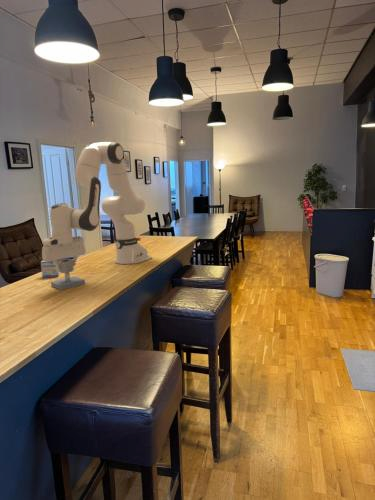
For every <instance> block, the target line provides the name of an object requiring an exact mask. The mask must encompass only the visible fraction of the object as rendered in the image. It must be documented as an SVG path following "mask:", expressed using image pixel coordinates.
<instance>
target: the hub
mask: <svg viewBox="0 0 375 500" xmlns="http://www.w3.org/2000/svg"><path fill="white" fill-rule="evenodd" d="M58 265H60V266H61V267H60V268H61V269H58V270H59V274H60V273H61V274H65V273H68V272H69V273H72V272H74V271H75V267H74V264H73V258H72V259H71V258H65V259H60V260H58Z"/></svg>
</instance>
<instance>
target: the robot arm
mask: <svg viewBox="0 0 375 500" xmlns="http://www.w3.org/2000/svg"><path fill="white" fill-rule="evenodd" d="M124 155H125V151H124V147H122V145H121V144H120V143H119V142H115V141H101V142H90V143H87V144H86V145H85V146H84V148H83V149H82V150H81V153H80V155H79V157H78V161H77V162H76V163H77V164H76V168H75V171H74V172H75V173H74V175H75V179H76V181H77V182H78V184H79V185H80V186H83V187H85V188H86V190H87V198H86V205H85V208H83V209H79V208H74V207H71V205H68V203H66V202H62V203H56V204H54V205H52V206H51V207H50V211H49V214H50V215H49V219H50V226H51V228H52V231H51V234H52V235H50V236H49V237H47V238H44V239H43V240H42V241H41V243H42V245H43V246H42V247H41V248H42V249H41V259H42V261H45V262H51V261H53V263H54V264H55V266H56V269H57V270H59V269H61V268H60V267H61V266H60V265H58V264H57V262H58V261H59V260H64V259H71V258H72V260H73V264H74V266H77V263H76V262H77V261H78V257H79V256H83V255H85V253H86V248H85V244H84V243H85V241H84V237H83V236H80V235H78V236H73V230H83V231H88V232H93V231H94V230H96V229H97V227H98V226H99V225H100V205H101V209H102V212H103V213H104V214H105V215H107V216H108V217H109V218H110V220H111V222H112V223H113V226H114V230H115V231H114V232H115V247H116V253H115V254H116V255H115V261H114V262H115V263H116V264H121V265H122V264H123V265H128V264H139V263H142V262H145V261H147V260H150V259H153V257H152V256H151V255H149V254H148V250H147V248H146V247H144V246H143V245H142V244H140V243H139V242H140V241H141V240H142V238H141V237H136V234H135V225H134V223H133V222H132V221H130V220H128V219H127V218H126V216H127V215H128V216H129V215H138V214H141V213H143V211H144V210H145V207H146V206H145V205H146V203H145V200H144V198H143V197H142V196H140V195H139V194H137V193H136V192H135V191H134V189H133V187H132V186H131V184H130V181H129V176H128V175H129V174H128V170H127V165H126V162H125V159H124ZM102 165H105V170H106V176H107V181H108V185H109V187H110V189H111V190H113V192H116V193H117V194H118V195H111V196H107V197H104V198H103V199H102V201H101V194H102V193H101V191H102V184H101V180H100V179H99V178H100V177H99V176H100V175H99V174H100V170H101V166H102ZM125 215H126V216H125Z"/></svg>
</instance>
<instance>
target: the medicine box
mask: <svg viewBox="0 0 375 500" xmlns="http://www.w3.org/2000/svg"><path fill="white" fill-rule="evenodd" d="M57 264H58V262H57ZM40 268H41V276H42V279H49V278H57V277H59V275H60V272H59V269H58V270H57V269H56V266H55V264H54V263H53V261H51V262H45V261H44V260H41V261H40Z"/></svg>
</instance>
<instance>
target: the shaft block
mask: <svg viewBox="0 0 375 500" xmlns="http://www.w3.org/2000/svg"><path fill="white" fill-rule="evenodd" d="M70 275H71V274H70V272H68V273H64V278H62V279H59V280H53V281H51V282H50V283H51V284H50V285H51V287H53V288H56V289H57V290H60V291H64V290H68V289H71V288H74V287H79V286H81V285H85V284H86V281H85V279H84V278H81V277H77V276H75V275H73V276H70Z"/></svg>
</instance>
